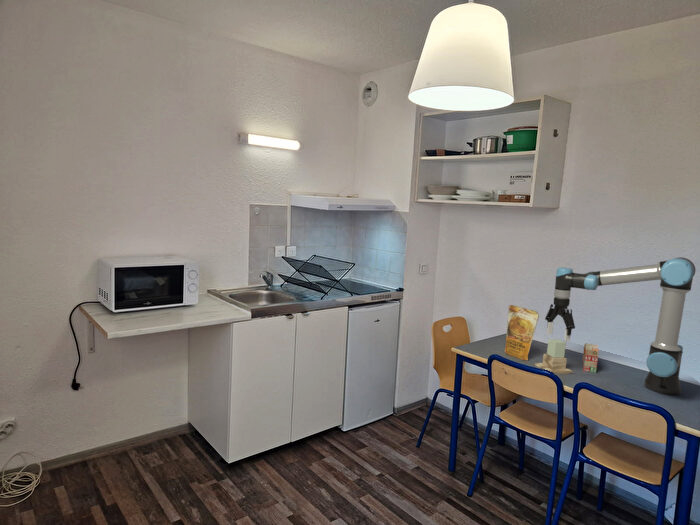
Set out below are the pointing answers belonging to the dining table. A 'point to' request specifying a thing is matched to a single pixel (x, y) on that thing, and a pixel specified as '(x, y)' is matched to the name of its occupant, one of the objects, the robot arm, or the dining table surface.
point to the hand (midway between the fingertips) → (558, 337)
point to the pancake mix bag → (520, 331)
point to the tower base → (554, 365)
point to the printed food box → (590, 357)
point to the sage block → (556, 348)
